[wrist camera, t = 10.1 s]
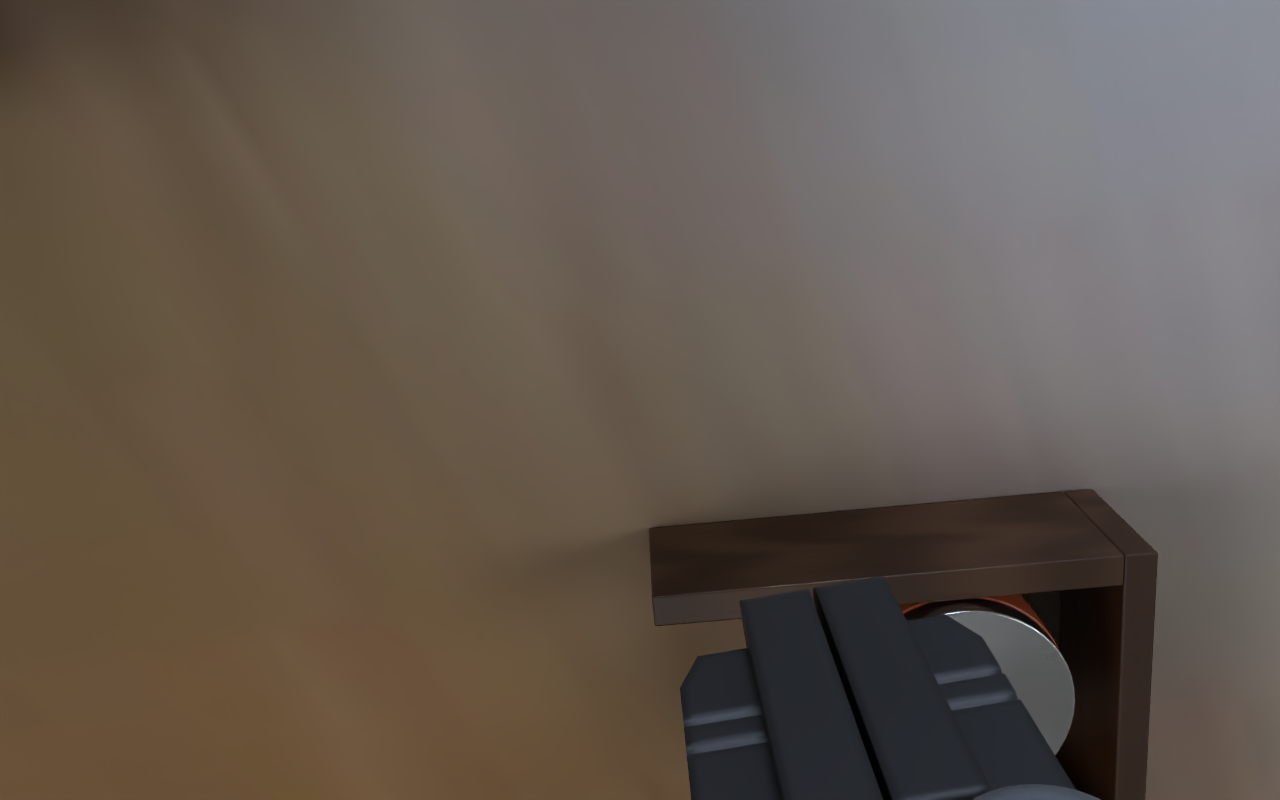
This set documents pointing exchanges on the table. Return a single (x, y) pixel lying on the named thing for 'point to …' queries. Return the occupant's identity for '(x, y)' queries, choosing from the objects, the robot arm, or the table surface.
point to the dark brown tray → (959, 592)
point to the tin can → (1017, 655)
